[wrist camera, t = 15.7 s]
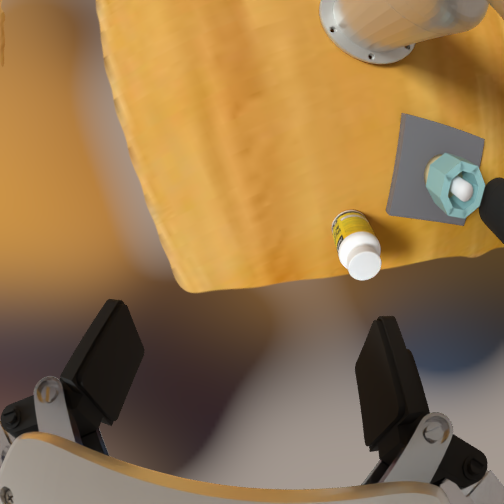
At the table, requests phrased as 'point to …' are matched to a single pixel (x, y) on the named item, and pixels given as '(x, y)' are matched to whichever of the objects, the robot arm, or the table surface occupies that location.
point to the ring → (441, 180)
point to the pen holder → (493, 207)
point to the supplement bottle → (356, 244)
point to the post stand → (417, 168)
